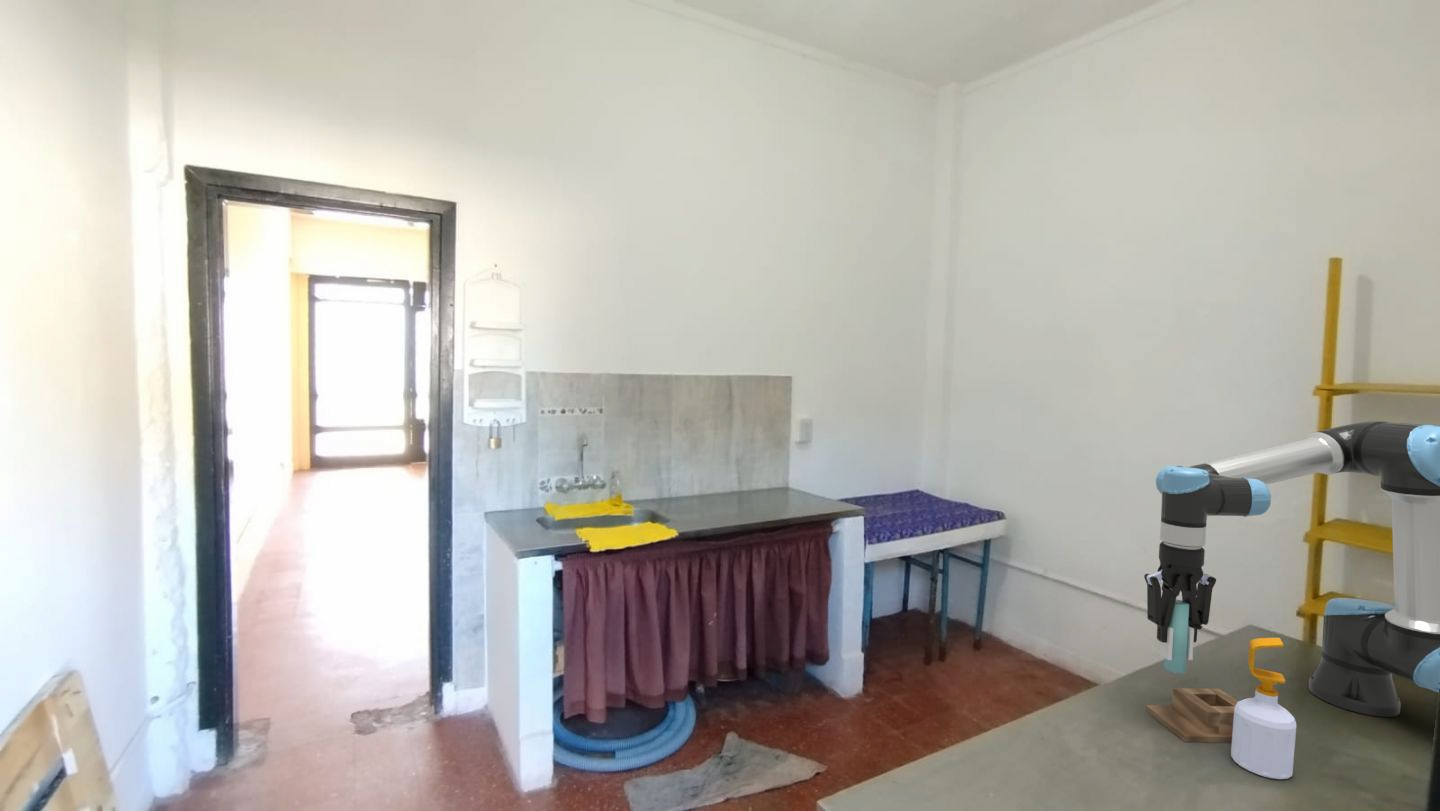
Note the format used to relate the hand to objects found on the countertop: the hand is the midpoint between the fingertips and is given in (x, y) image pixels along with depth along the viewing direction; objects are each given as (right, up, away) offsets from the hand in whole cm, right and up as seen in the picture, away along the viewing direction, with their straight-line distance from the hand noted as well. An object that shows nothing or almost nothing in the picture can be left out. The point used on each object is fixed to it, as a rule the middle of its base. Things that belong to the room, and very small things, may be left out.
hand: (1175, 656), depth 135 cm
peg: (0, -3, 0) cm, 3 cm away
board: (+10, -16, +4) cm, 19 cm away
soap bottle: (+9, -17, -10) cm, 22 cm away
